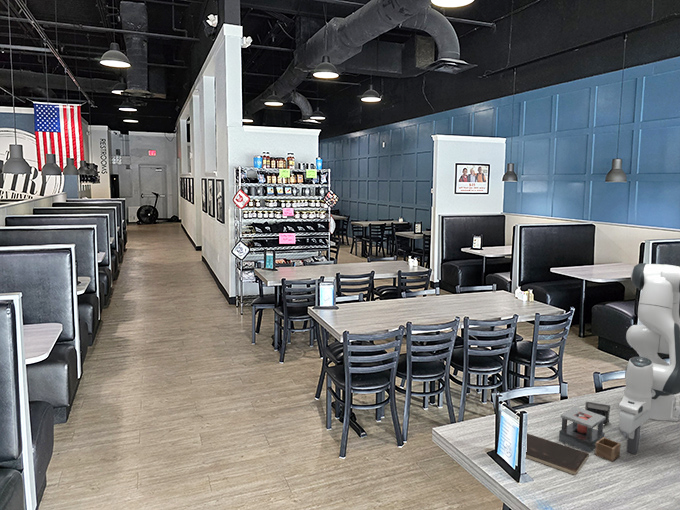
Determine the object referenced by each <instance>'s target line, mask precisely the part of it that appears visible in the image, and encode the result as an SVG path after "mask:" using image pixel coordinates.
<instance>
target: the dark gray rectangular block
mask: <svg viewBox="0 0 680 510" xmlns="http://www.w3.org/2000/svg"><path fill="white" fill-rule="evenodd" d="M641 428H642V426H641V427H640V426H639V427H638V428H636V429H635V431H634V433H635V438H634V439H631V438H629V437H628V438H627V444H626V452H628V453H630V454H634V455H636V454H638V453H639V451H640V438H641V430H642V429H641ZM628 435H629V433H628Z"/></svg>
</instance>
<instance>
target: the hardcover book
mask: <svg viewBox="0 0 680 510" xmlns="http://www.w3.org/2000/svg"><path fill="white" fill-rule="evenodd" d="M589 457H590V454H589V452H587V451H584V450H581V449H578V448H574V447H572V446H571V447H570V446H567V445H564V444H561V443H559V442H555V441H552V440H549V439H547V438H543V437H540V436H537V435H533V434H531V433H527V452H526V457H525V458H526V459H530V460H531V461H535V462H538V463H541V464H544V465H547V466H549V467H552V468H553V469H556V470H561V471H562V472H563V471H564V472H566V473H568V474H571V475H575V476H576V475H577V474H578V471H580V470H581V468H582V466H583V465H584V463H585V462H586V460H587V459H588V458H589Z"/></svg>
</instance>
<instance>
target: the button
mask: <svg viewBox="0 0 680 510" xmlns="http://www.w3.org/2000/svg"><path fill="white" fill-rule="evenodd" d="M579 417H580V418H582V419H585V420H588V418H586V417H584V416H583V415H581V416H580V415H579ZM577 431H578V432H580V433H587V427H586V426H583V425H580V424H578V423H577Z"/></svg>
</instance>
